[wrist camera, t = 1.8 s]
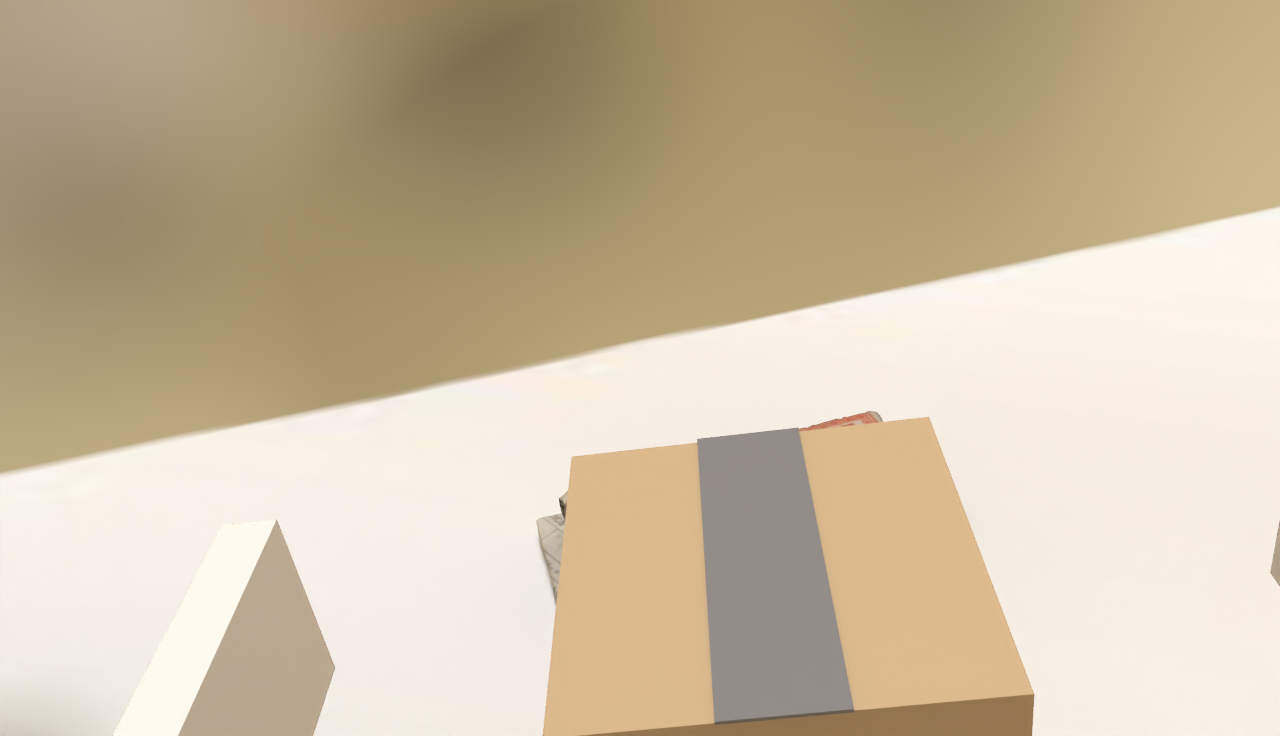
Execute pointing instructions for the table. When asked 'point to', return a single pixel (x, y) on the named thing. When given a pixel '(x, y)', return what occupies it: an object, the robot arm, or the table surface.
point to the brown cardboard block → (779, 593)
